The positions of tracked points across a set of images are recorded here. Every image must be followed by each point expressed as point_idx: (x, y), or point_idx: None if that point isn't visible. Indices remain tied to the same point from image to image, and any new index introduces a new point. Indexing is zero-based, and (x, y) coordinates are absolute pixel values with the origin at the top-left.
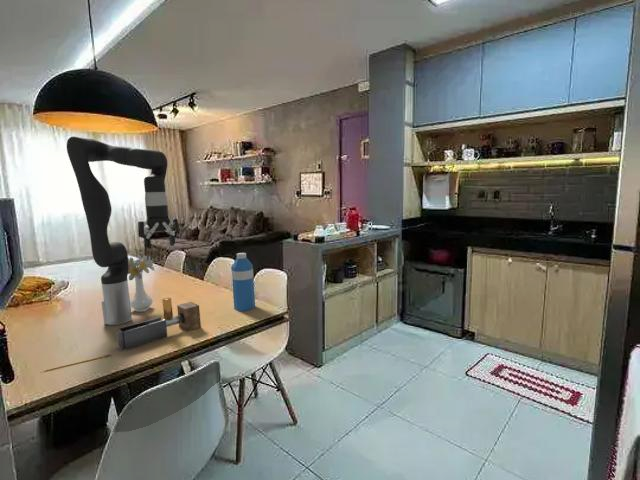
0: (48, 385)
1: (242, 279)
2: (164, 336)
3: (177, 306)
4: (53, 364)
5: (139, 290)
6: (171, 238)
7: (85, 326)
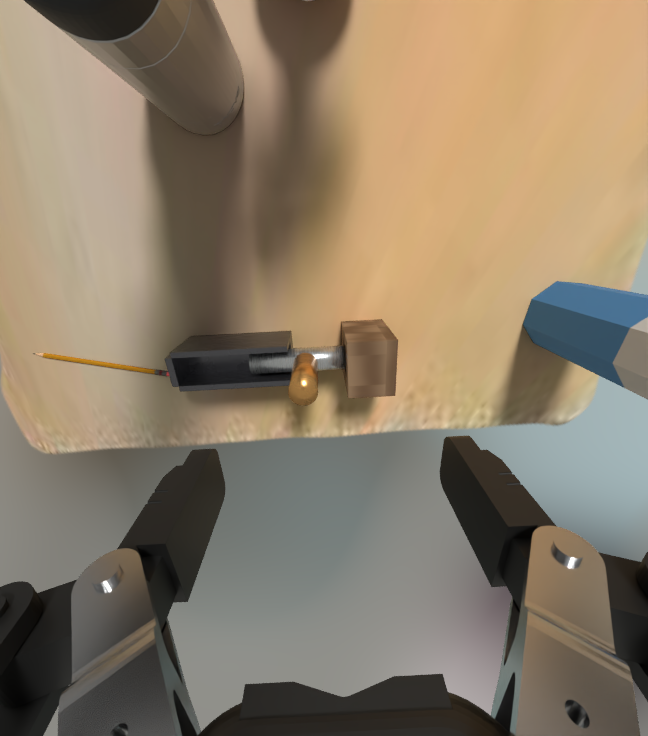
0: (69, 420)
1: (625, 386)
2: None
3: (347, 343)
4: (51, 330)
5: None
6: (476, 550)
7: None
